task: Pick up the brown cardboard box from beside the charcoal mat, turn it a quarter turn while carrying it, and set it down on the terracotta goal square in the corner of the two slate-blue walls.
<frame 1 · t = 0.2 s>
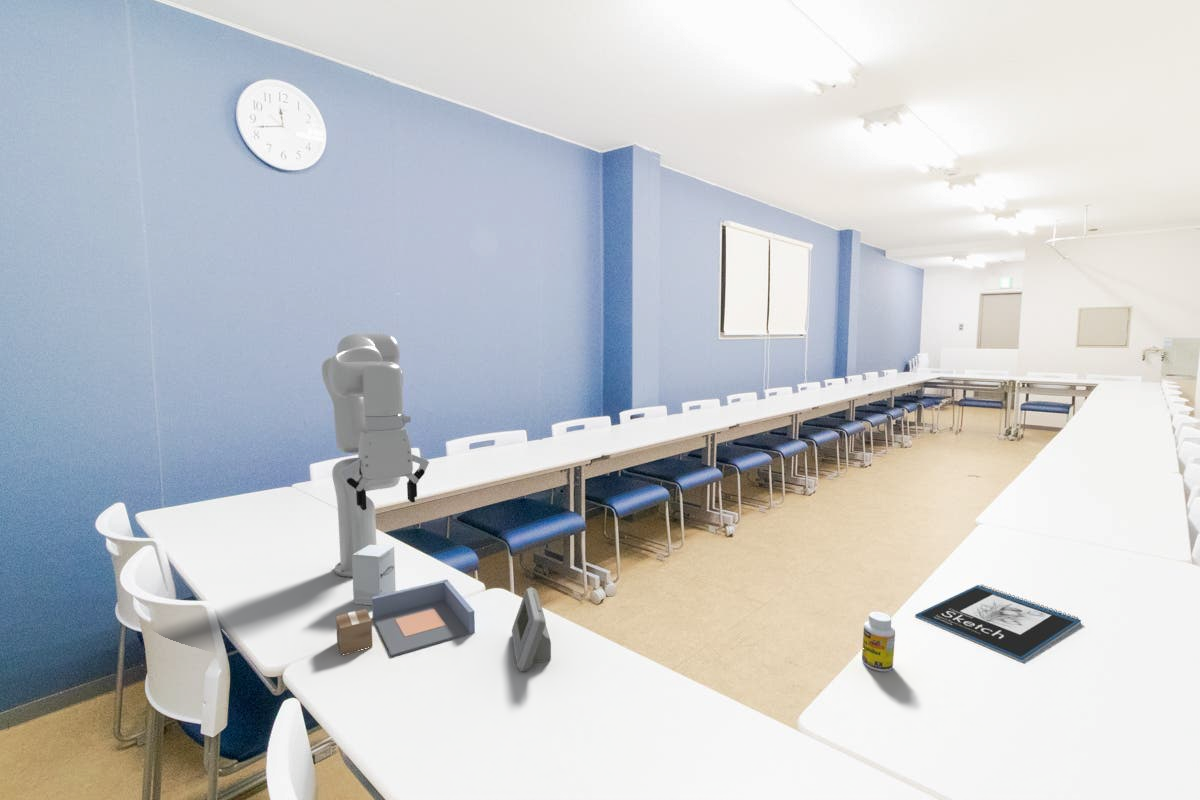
hand: (387, 504, 116), 30 cm above the table, tool pointing down, fingers open, 9 cm apart
sketchbook: (997, 622, 129), on the table
brown cardboard box: (354, 645, 118), on the table
supplement box: (375, 599, 139), on the table
digital clock: (528, 652, 116), on the table
supplement bottle: (877, 665, 111), on the table
arena: (420, 626, 125), on the table
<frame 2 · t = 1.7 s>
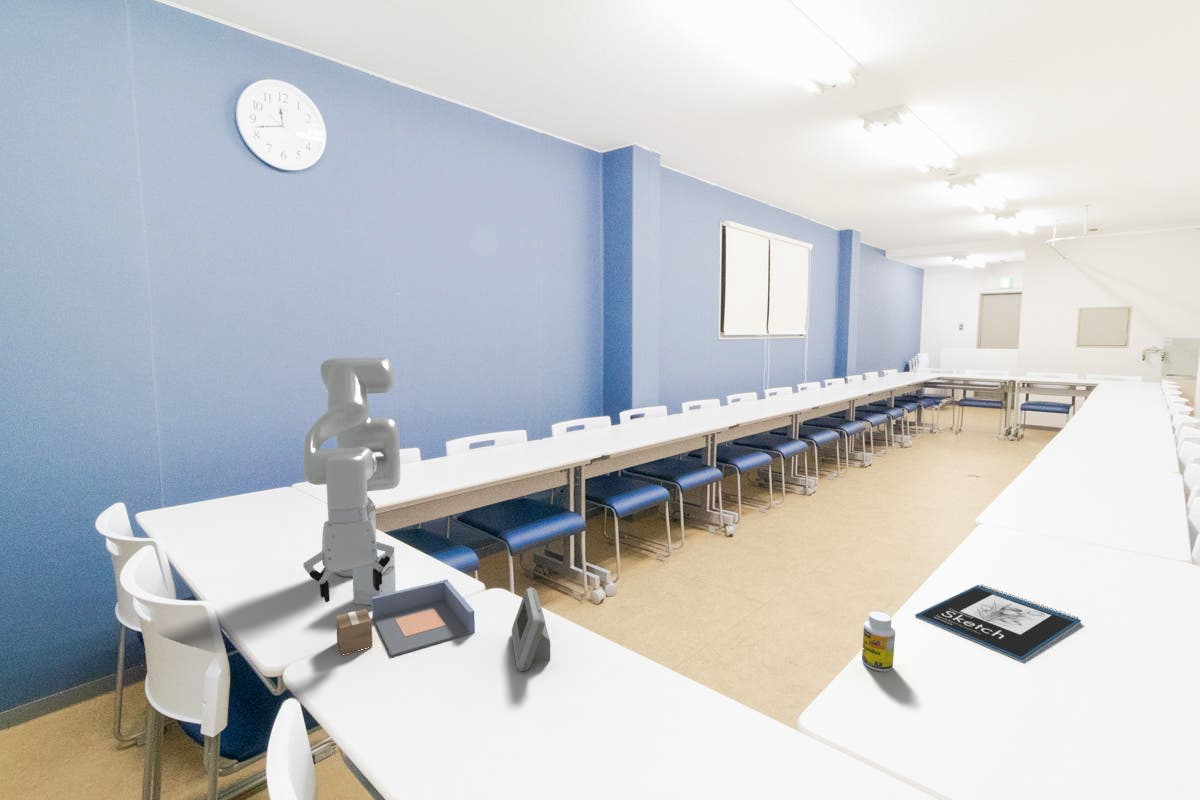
hand: (352, 594, 116), 12 cm above the table, tool pointing down, fingers open, 9 cm apart
nothing on the table moved.
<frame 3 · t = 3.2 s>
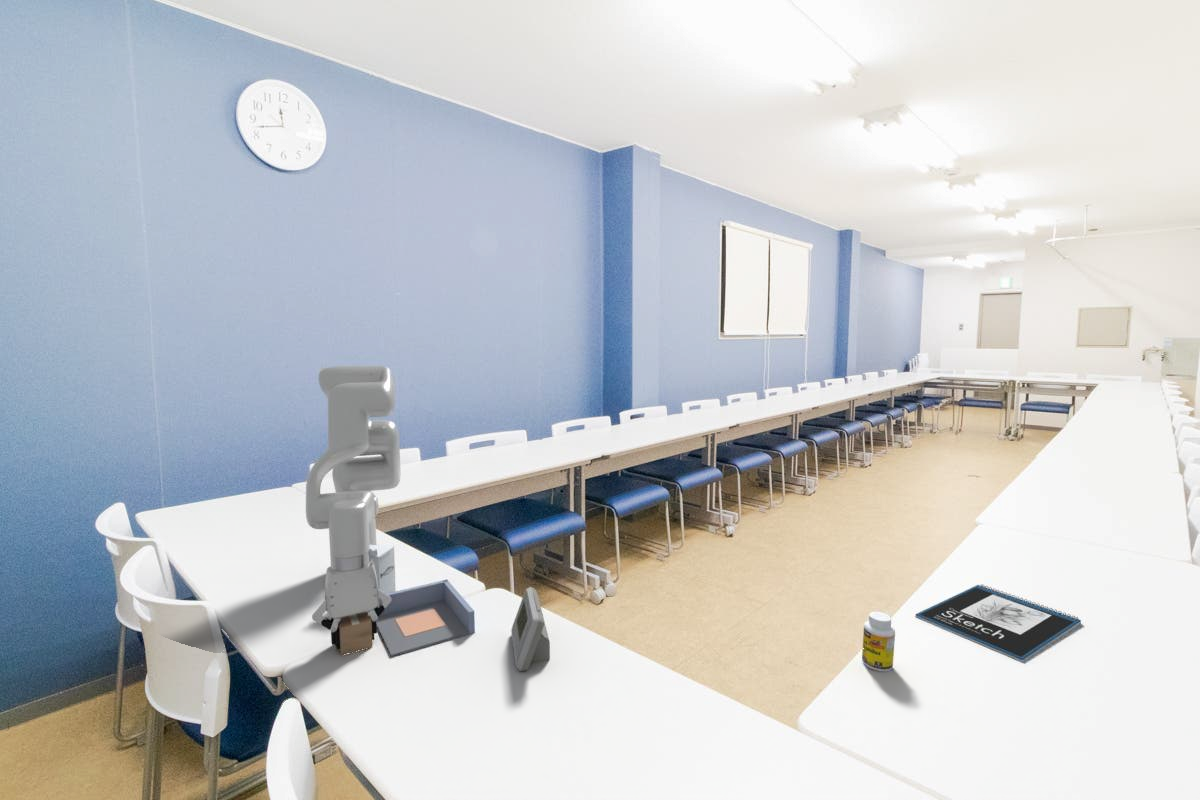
hand: (354, 641, 118), 1 cm above the table, tool pointing down, fingers closed on brown cardboard box, 6 cm apart
brown cardboard box: (354, 645, 118), on the table, touching gripper
everything else where it was.
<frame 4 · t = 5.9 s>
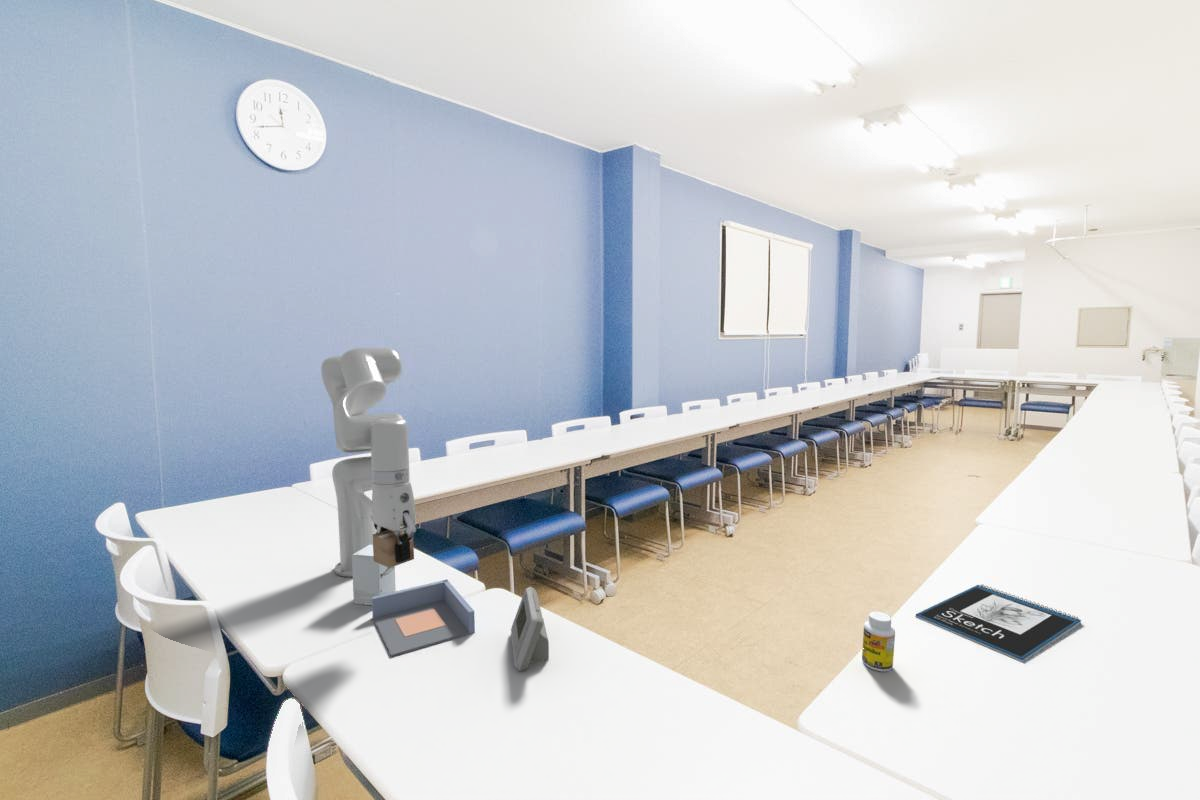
hand: (394, 556, 121), 17 cm above the table, tool pointing down, fingers closed on brown cardboard box, 6 cm apart
brown cardboard box: (393, 560, 121), point 16 cm above the table, touching gripper
everything else where it was.
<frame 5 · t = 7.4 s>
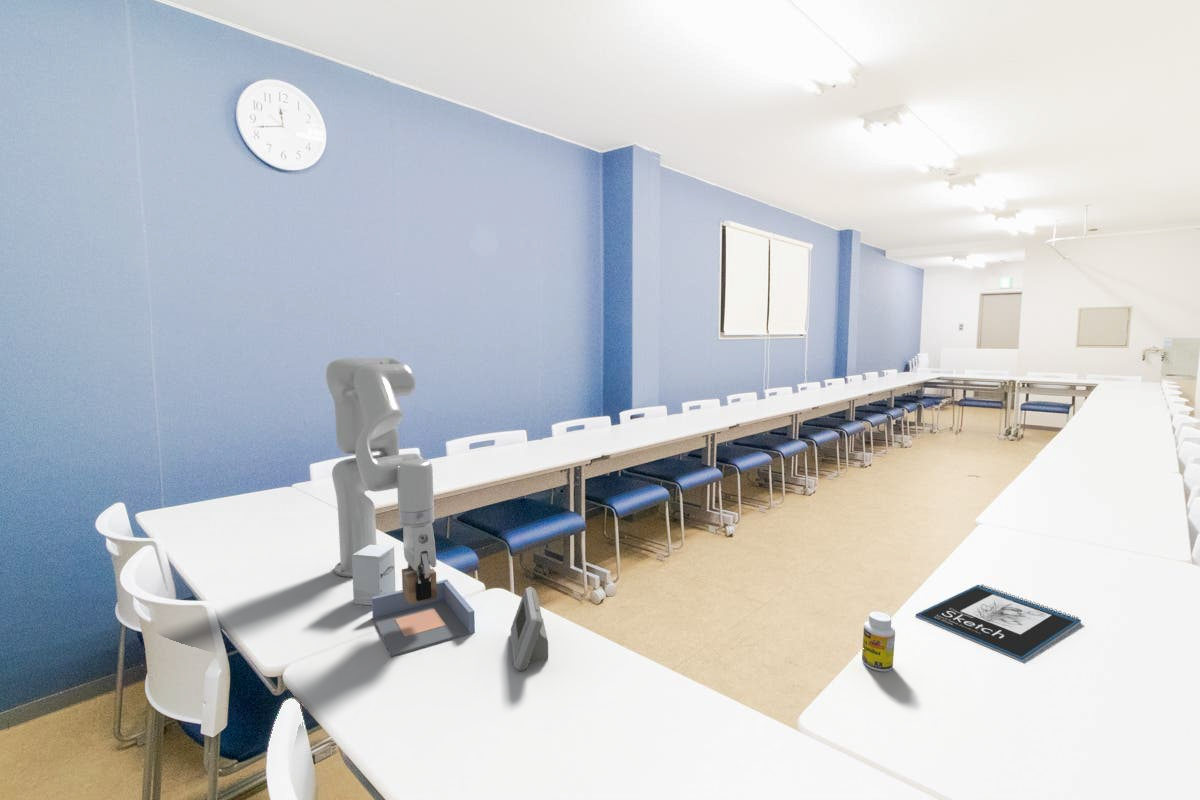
hand: (419, 592, 125), 8 cm above the table, tool pointing down, fingers closed on brown cardboard box, 6 cm apart
brown cardboard box: (419, 596, 125), point 7 cm above the table, touching gripper
everything else where it was.
when the fingers open (3 cm above the table, at t = 8.8 s): brown cardboard box drops 1 cm, resting on arena.
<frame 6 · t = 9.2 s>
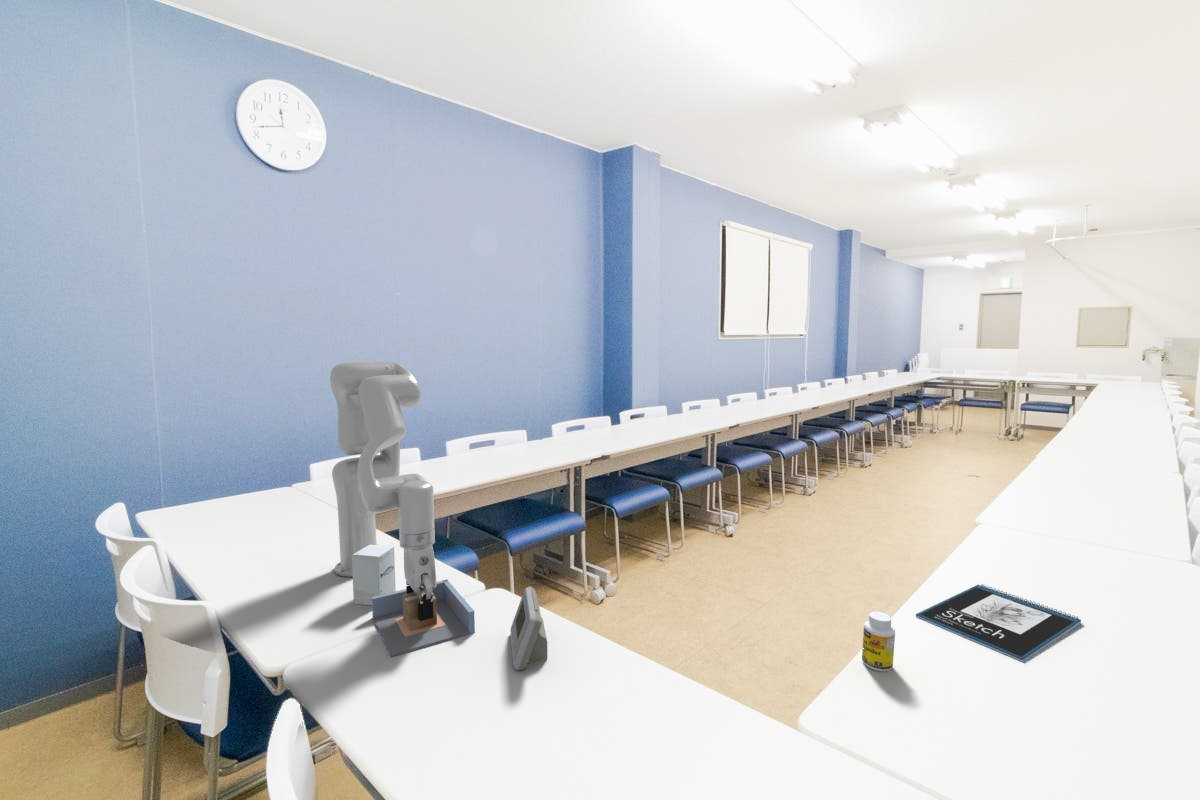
hand: (419, 609, 126), 3 cm above the table, tool pointing down, fingers open, 9 cm apart
brown cardboard box: (420, 621, 126), point 1 cm above the table, touching arena
everything else where it was.
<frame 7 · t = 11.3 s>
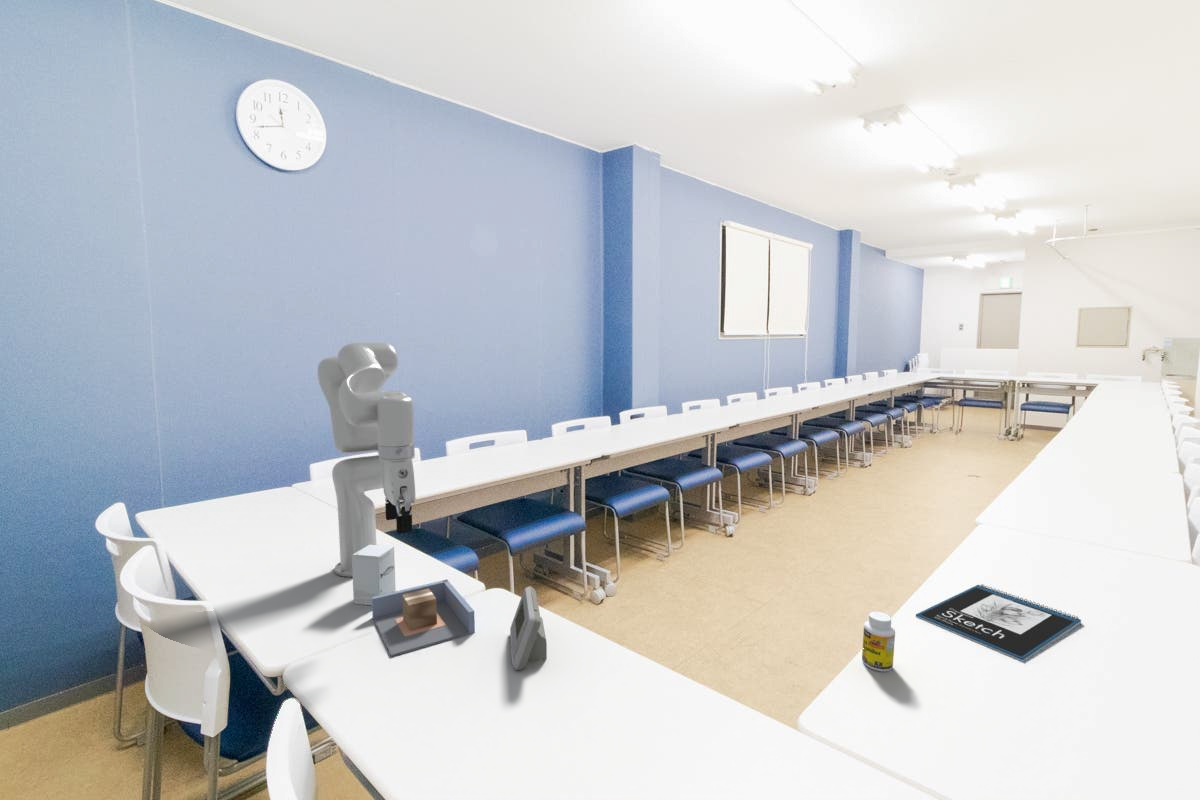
hand: (398, 525, 125), 23 cm above the table, tool pointing down, fingers open, 9 cm apart
nothing on the table moved.
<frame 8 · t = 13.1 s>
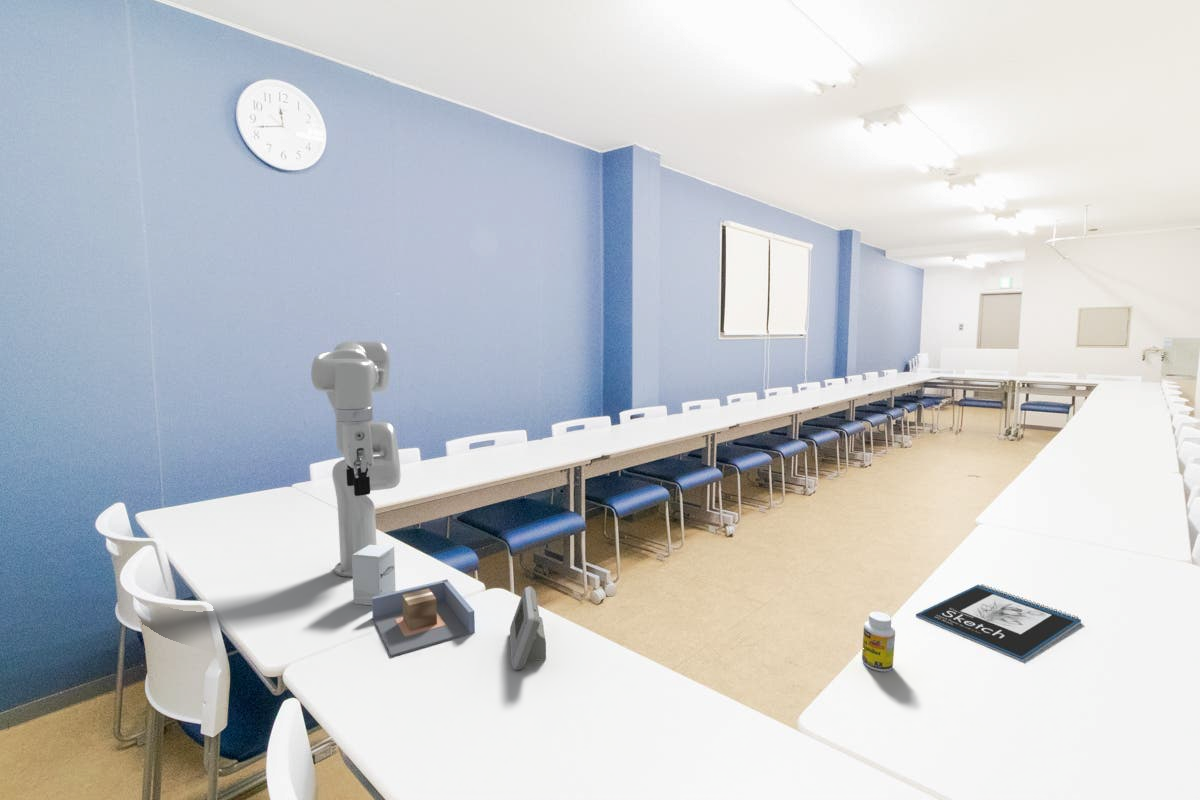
hand: (358, 489, 127), 30 cm above the table, tool pointing down, fingers open, 9 cm apart
nothing on the table moved.
at the end: brown cardboard box 0.1 cm from the target spot on the arena, point 0.6 cm above the arena's base; brown cardboard box tilted 0°; the gripper is holding nothing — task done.
